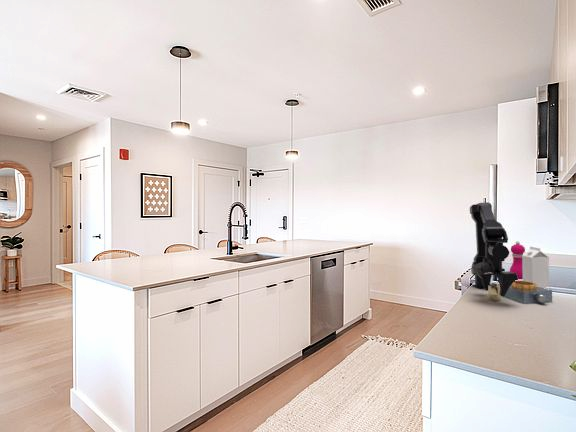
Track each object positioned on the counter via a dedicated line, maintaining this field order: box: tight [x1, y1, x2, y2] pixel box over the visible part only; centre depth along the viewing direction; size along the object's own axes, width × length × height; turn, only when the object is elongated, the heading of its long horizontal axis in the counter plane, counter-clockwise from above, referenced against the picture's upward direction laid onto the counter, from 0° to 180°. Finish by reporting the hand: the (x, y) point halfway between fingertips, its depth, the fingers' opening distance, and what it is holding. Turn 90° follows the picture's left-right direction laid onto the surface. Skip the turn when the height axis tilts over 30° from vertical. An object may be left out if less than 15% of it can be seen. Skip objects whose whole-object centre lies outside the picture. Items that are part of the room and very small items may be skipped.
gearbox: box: [497, 281, 553, 305], centre depth 135 cm, size 17×12×6 cm
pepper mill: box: [509, 240, 526, 279], centre depth 166 cm, size 7×7×20 cm
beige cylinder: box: [487, 282, 502, 302], centre depth 135 cm, size 4×4×7 cm
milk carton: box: [522, 246, 550, 288], centre depth 150 cm, size 7×7×19 cm
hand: (494, 293), depth 136 cm, fingers open, 9 cm apart
